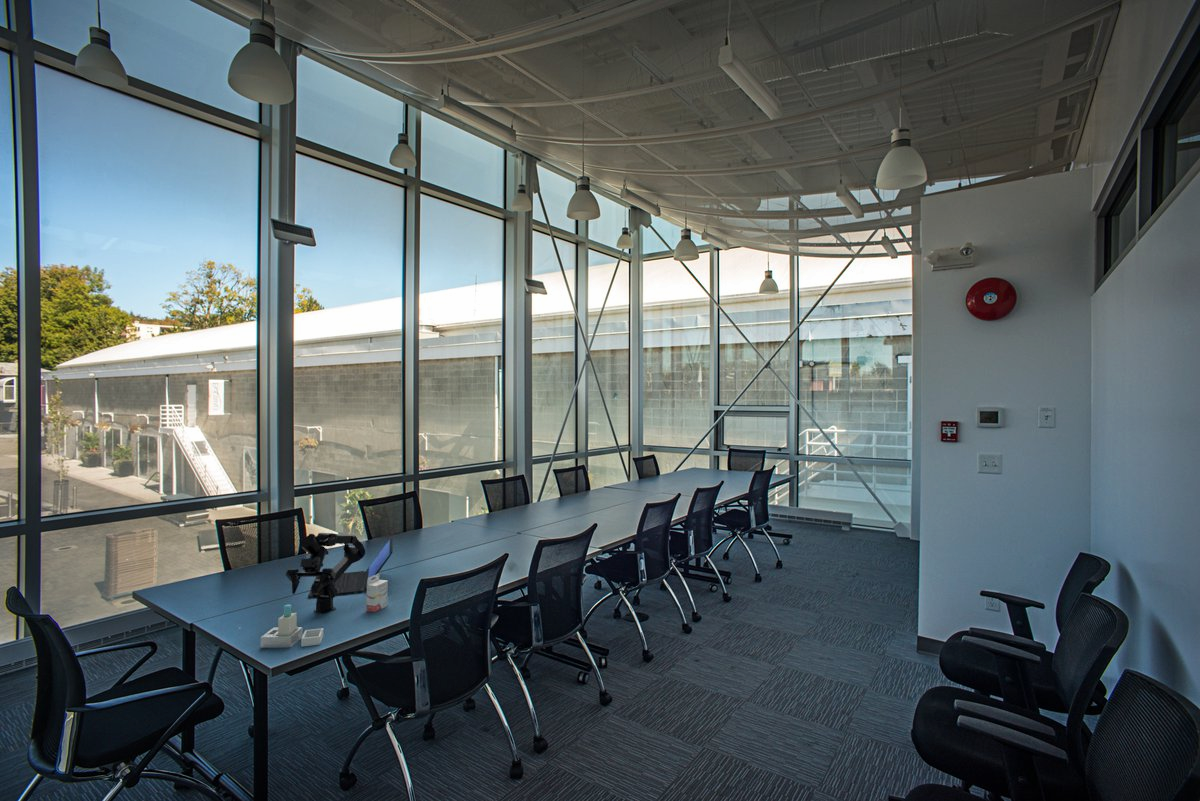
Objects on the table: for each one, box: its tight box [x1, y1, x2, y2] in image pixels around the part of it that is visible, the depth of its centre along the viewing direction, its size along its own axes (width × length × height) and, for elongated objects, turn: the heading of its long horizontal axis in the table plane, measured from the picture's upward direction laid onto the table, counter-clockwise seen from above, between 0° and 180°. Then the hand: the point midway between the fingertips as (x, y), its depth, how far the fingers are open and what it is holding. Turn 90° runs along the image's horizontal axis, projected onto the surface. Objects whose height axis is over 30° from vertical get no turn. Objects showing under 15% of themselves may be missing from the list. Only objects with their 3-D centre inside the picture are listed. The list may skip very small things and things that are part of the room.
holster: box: [300, 627, 324, 647], centre depth 221 cm, size 6×8×3 cm
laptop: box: [308, 536, 394, 599], centre depth 289 cm, size 33×38×19 cm
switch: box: [260, 626, 304, 649], centre depth 220 cm, size 11×9×4 cm
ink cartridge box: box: [365, 572, 389, 613], centre depth 256 cm, size 9×5×15 cm, turn 163°
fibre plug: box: [277, 604, 298, 636], centre depth 220 cm, size 4×6×14 cm, turn 3°
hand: (304, 593), depth 236 cm, fingers open, 9 cm apart
